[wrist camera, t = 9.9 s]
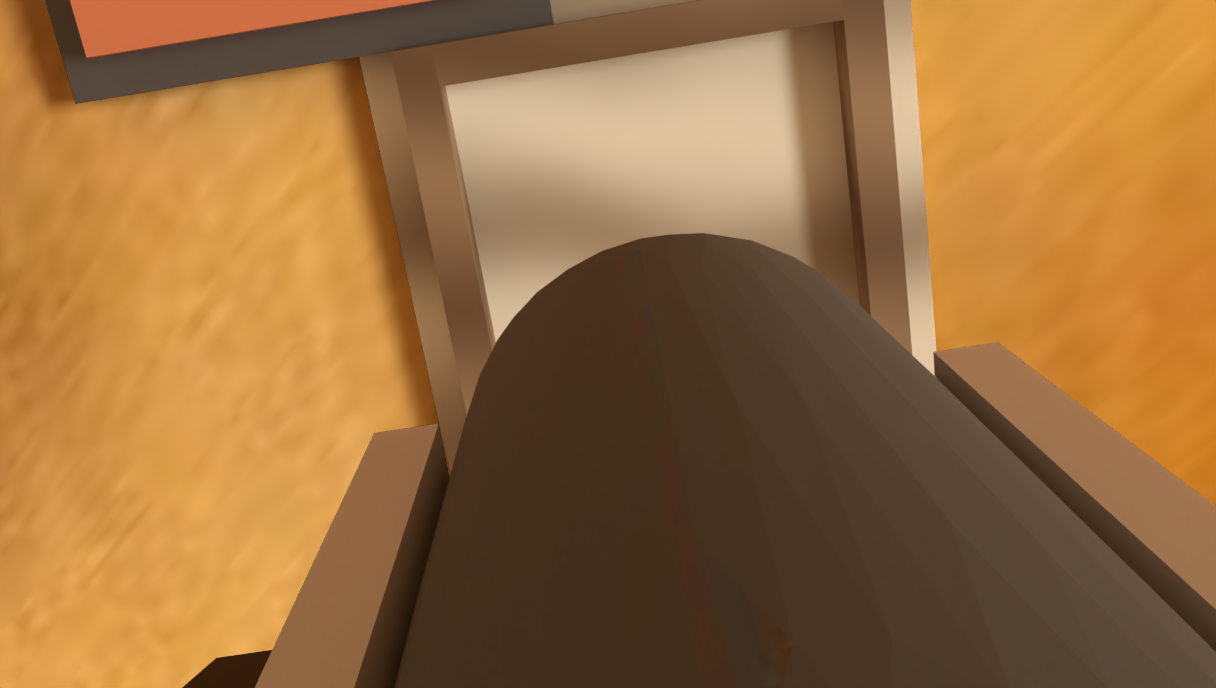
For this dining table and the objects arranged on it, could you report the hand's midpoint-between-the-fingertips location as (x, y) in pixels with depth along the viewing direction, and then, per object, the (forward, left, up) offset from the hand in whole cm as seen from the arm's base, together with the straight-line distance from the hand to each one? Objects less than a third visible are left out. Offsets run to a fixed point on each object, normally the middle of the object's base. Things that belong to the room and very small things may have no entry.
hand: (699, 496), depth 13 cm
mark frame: (+1, +1, -17) cm, 17 cm away
